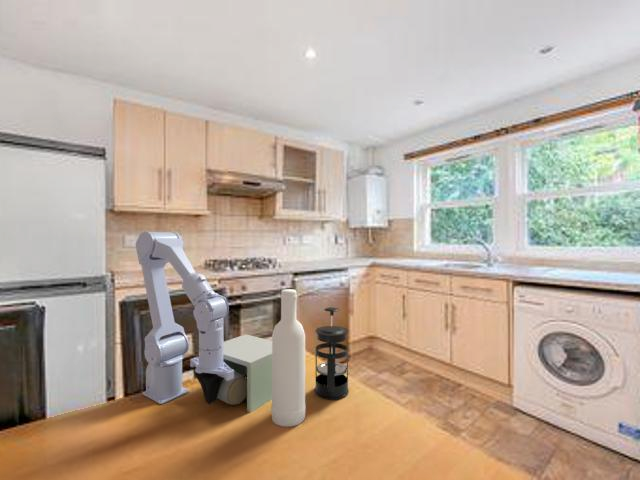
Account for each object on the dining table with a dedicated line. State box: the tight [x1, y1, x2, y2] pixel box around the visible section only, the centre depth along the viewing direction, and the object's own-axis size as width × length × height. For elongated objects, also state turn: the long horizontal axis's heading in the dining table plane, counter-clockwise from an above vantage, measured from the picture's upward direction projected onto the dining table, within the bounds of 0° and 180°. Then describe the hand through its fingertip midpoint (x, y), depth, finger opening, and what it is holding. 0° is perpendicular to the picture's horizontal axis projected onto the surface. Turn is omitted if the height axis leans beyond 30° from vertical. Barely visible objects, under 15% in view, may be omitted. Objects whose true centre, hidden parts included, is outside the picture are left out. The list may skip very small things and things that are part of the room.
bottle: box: [271, 288, 307, 428], centre depth 73 cm, size 8×8×30 cm
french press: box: [314, 306, 350, 401], centre depth 85 cm, size 12×9×23 cm
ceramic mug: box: [217, 370, 247, 406], centre depth 82 cm, size 11×8×8 cm
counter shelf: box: [223, 334, 272, 413], centre depth 86 cm, size 18×15×12 cm
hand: (211, 401), depth 76 cm, fingers closed, pressing on ceramic mug
